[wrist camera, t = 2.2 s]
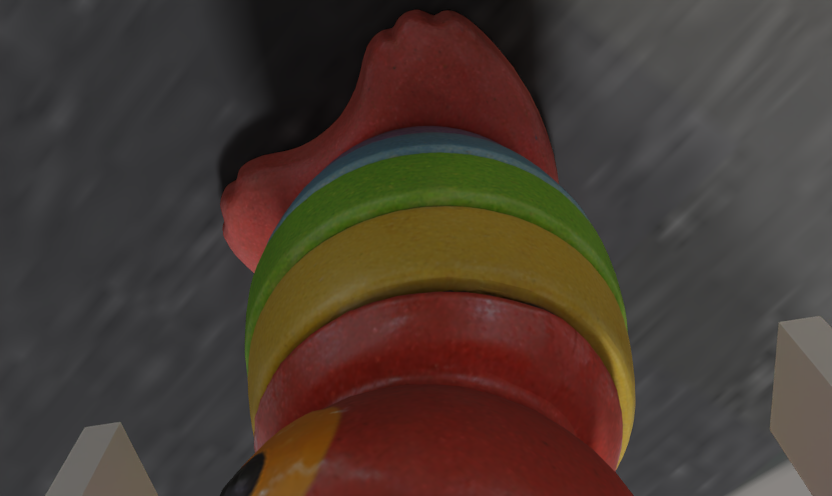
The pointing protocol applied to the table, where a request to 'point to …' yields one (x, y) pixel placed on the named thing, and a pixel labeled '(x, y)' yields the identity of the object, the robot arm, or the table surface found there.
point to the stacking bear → (428, 292)
